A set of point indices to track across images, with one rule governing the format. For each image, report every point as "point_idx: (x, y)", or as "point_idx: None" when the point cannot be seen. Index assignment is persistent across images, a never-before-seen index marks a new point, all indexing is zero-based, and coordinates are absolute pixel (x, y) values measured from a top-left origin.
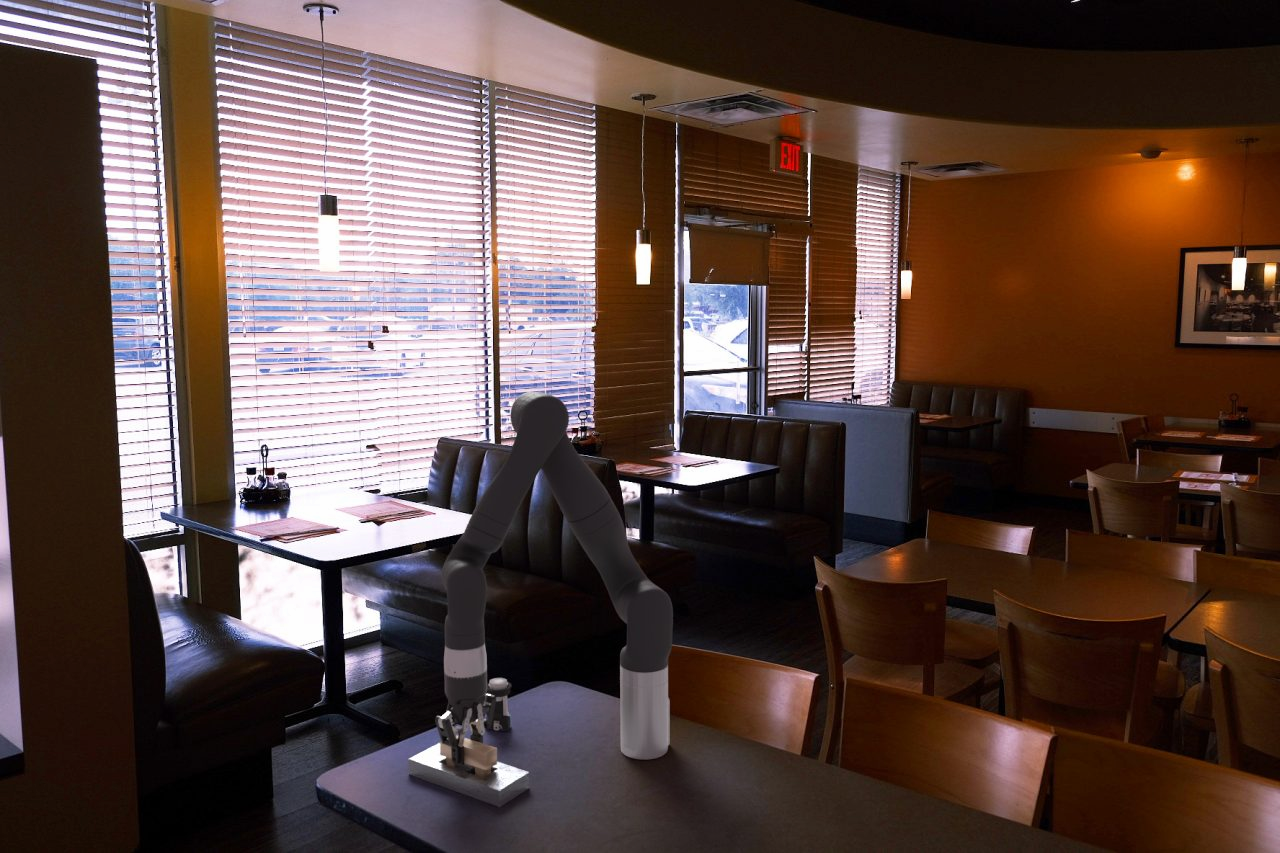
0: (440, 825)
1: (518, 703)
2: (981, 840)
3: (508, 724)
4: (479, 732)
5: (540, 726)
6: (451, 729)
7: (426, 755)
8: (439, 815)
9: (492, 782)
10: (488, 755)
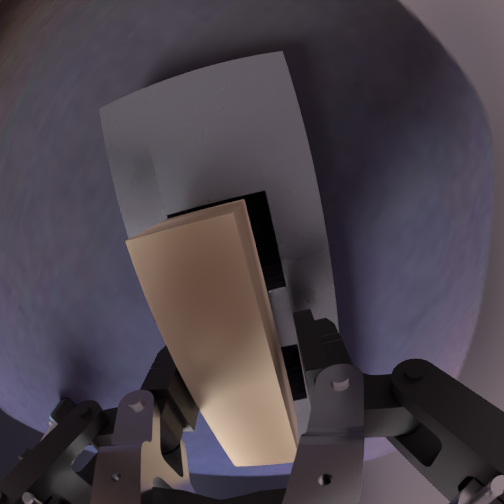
0: (450, 138)
1: (43, 427)
2: None
3: (59, 405)
4: (156, 410)
5: (18, 361)
6: (488, 446)
7: (300, 434)
8: (431, 181)
9: (260, 124)
10: (210, 214)
